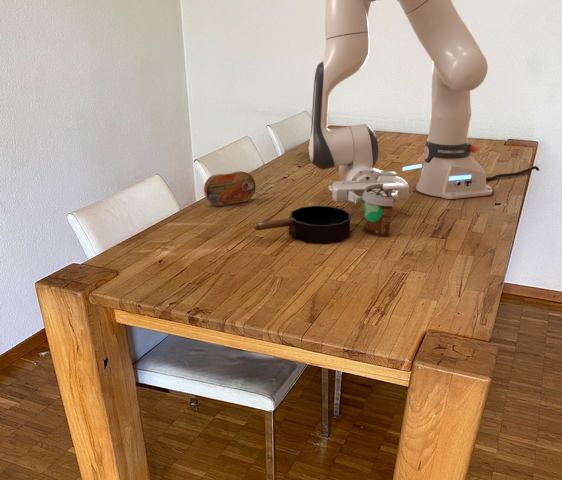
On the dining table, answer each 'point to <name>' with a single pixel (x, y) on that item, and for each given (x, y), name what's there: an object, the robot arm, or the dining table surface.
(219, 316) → the dining table surface
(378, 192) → the food container
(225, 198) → the tin
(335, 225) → the pan
